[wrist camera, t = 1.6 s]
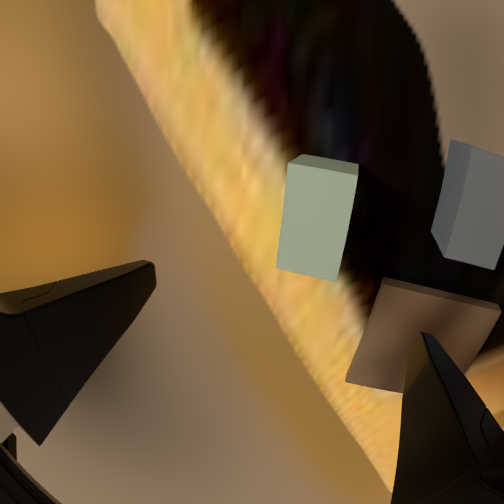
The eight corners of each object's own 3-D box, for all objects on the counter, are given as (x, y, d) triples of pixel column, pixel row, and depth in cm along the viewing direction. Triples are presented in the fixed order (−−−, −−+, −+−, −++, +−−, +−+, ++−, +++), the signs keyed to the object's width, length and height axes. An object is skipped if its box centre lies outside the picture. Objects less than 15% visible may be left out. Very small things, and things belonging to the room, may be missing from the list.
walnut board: (497, 304, 16) (501, 311, 16) (444, 391, 21) (445, 399, 20) (383, 276, 19) (383, 284, 18) (346, 373, 24) (345, 381, 23)
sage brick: (358, 164, 17) (357, 175, 14) (341, 252, 20) (335, 282, 16) (302, 154, 18) (288, 163, 14) (291, 241, 21) (275, 268, 17)
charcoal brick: (496, 155, 13) (524, 166, 10) (474, 242, 16) (494, 270, 13) (450, 139, 14) (471, 145, 11) (430, 230, 17) (444, 256, 13)
